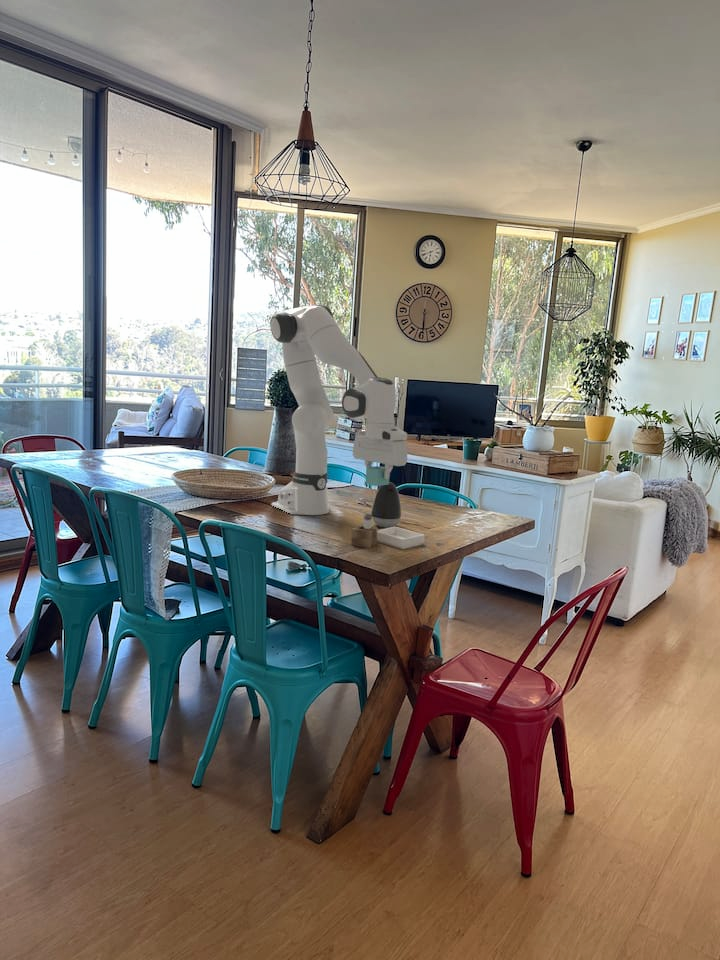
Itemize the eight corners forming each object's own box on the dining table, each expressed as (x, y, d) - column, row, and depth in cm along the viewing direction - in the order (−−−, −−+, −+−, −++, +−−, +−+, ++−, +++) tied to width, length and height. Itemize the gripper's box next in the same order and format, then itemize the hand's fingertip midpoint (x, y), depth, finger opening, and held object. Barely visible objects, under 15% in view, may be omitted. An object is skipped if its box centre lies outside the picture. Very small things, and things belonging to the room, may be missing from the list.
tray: (372, 540, 216) (373, 530, 216) (394, 535, 224) (395, 526, 223) (402, 549, 208) (403, 539, 207) (424, 544, 215) (424, 534, 215)
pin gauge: (360, 543, 211) (362, 514, 210) (366, 542, 213) (368, 514, 212) (366, 545, 210) (368, 516, 208) (371, 544, 211) (373, 515, 210)
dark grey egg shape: (375, 530, 229) (378, 484, 226) (366, 522, 239) (369, 478, 236) (404, 529, 232) (408, 484, 229) (394, 522, 242) (397, 479, 239)
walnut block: (351, 544, 209) (352, 528, 209) (358, 540, 215) (359, 524, 214) (369, 548, 207) (370, 531, 206) (376, 543, 213) (377, 527, 212)
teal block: (365, 483, 213) (366, 467, 212) (377, 481, 216) (377, 465, 216) (377, 486, 210) (377, 469, 209) (389, 484, 213) (389, 467, 212)
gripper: (348, 429, 216) (347, 473, 218) (396, 435, 201) (395, 482, 203) (363, 428, 220) (362, 471, 222) (411, 434, 205) (409, 480, 208)
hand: (378, 476), depth 213 cm, fingers closed on teal block, 5 cm apart
